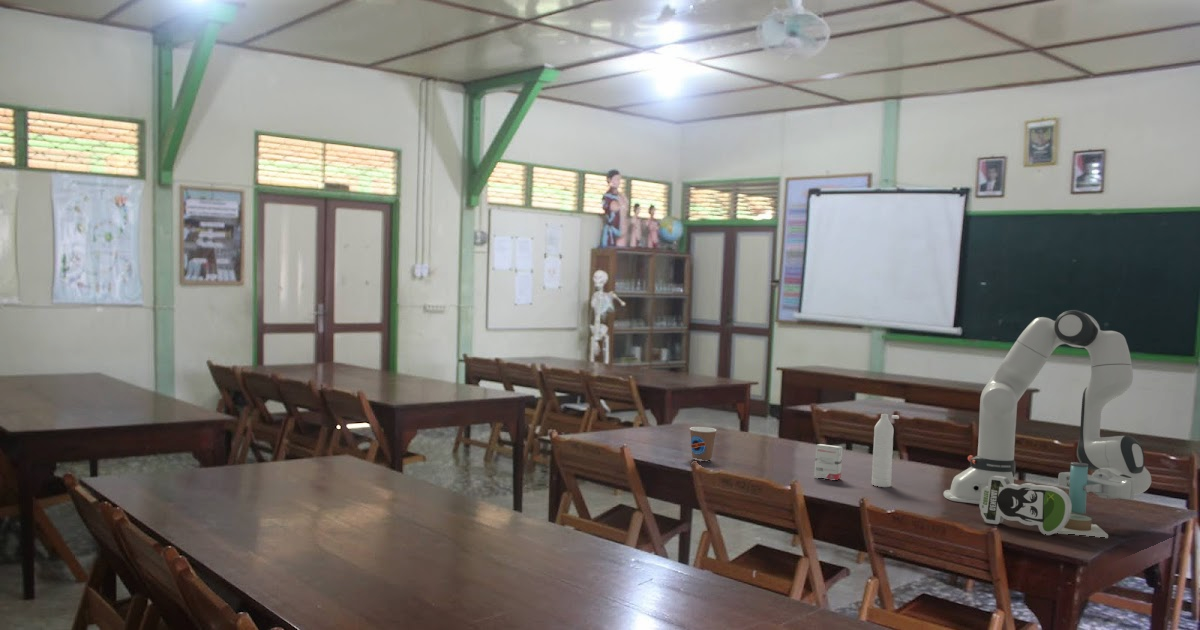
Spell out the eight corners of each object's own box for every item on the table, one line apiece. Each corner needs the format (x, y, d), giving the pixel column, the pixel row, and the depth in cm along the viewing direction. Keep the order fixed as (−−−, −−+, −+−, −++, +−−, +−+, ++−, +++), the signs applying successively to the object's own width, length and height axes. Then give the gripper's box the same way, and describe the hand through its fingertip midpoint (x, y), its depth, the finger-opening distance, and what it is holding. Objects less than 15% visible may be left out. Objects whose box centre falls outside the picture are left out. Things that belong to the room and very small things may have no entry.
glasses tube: (1070, 512, 272) (1072, 464, 272) (1066, 509, 277) (1068, 461, 276) (1087, 514, 271) (1090, 465, 271) (1083, 510, 276) (1085, 462, 275)
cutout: (978, 475, 281) (1067, 483, 264) (982, 474, 283) (1071, 482, 266) (979, 526, 281) (1069, 538, 264) (983, 524, 283) (1072, 536, 266)
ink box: (841, 479, 336) (843, 446, 335) (837, 481, 331) (838, 447, 331) (818, 475, 340) (819, 443, 340) (813, 478, 336) (815, 444, 336)
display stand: (1054, 533, 270) (1055, 519, 270) (1044, 523, 282) (1045, 509, 281) (1107, 538, 267) (1108, 524, 266) (1096, 527, 278) (1096, 514, 278)
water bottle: (867, 484, 328) (871, 413, 327) (878, 482, 332) (882, 412, 331) (889, 489, 321) (893, 416, 320) (900, 487, 325) (904, 415, 324)
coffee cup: (683, 459, 362) (684, 428, 361) (698, 456, 369) (699, 426, 369) (705, 463, 355) (706, 432, 355) (720, 460, 363) (721, 429, 362)
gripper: (1076, 465, 289) (1045, 468, 282) (1140, 479, 270) (1109, 482, 264) (1075, 486, 289) (1044, 489, 283) (1139, 501, 271) (1108, 504, 264)
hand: (1076, 486), depth 273 cm, fingers closed on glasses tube, 4 cm apart
